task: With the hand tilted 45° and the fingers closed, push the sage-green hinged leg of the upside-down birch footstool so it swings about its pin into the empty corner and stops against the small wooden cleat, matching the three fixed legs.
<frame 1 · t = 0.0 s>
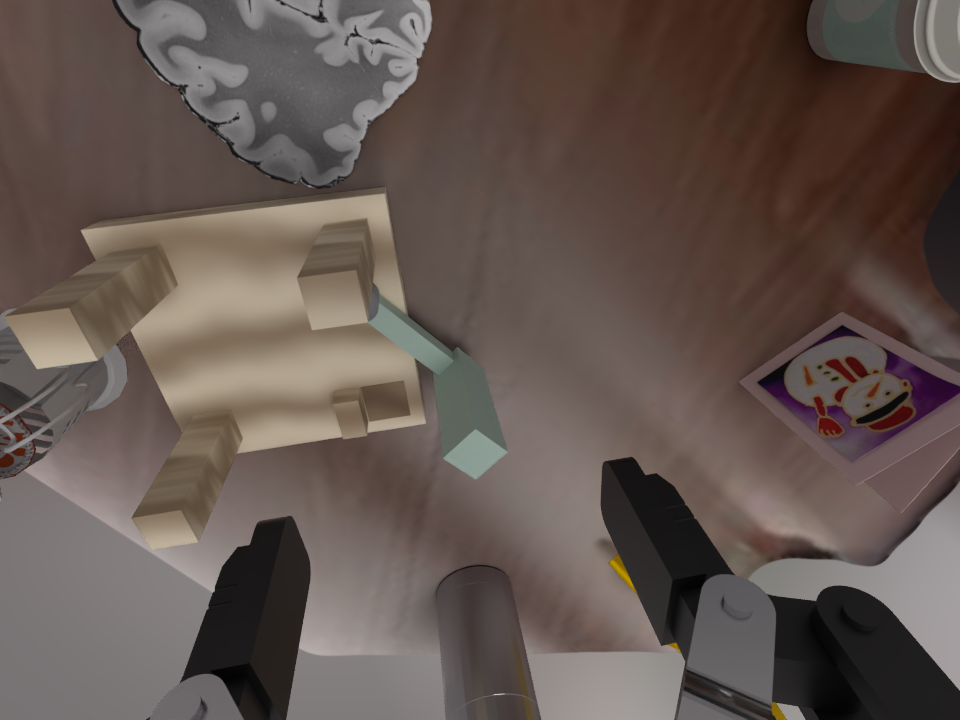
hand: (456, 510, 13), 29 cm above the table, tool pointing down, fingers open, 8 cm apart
hinged leg: (415, 369, 35), point 8 cm above the table, hinge at 40.0°
coffee cup: (842, 12, 35), on the table
greeting card: (796, 364, 51), on the table
brain slice: (288, 6, 31), on the table
french press: (69, 356, 39), on the table
figure statuette: (652, 554, 63), on the table
stool seat: (285, 327, 41), on the table
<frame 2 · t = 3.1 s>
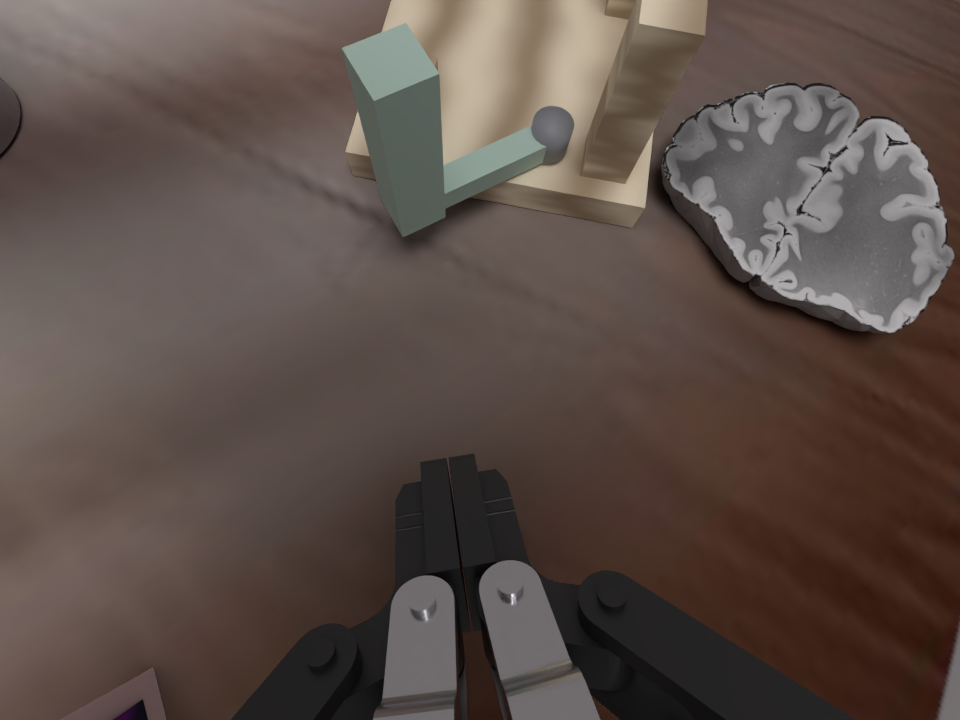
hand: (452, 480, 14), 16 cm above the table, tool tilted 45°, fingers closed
hinged leg: (485, 114, 27), point 8 cm above the table, hinge at 40.0°
brain slice: (785, 212, 36), on the table
stool seat: (515, 88, 38), on the table
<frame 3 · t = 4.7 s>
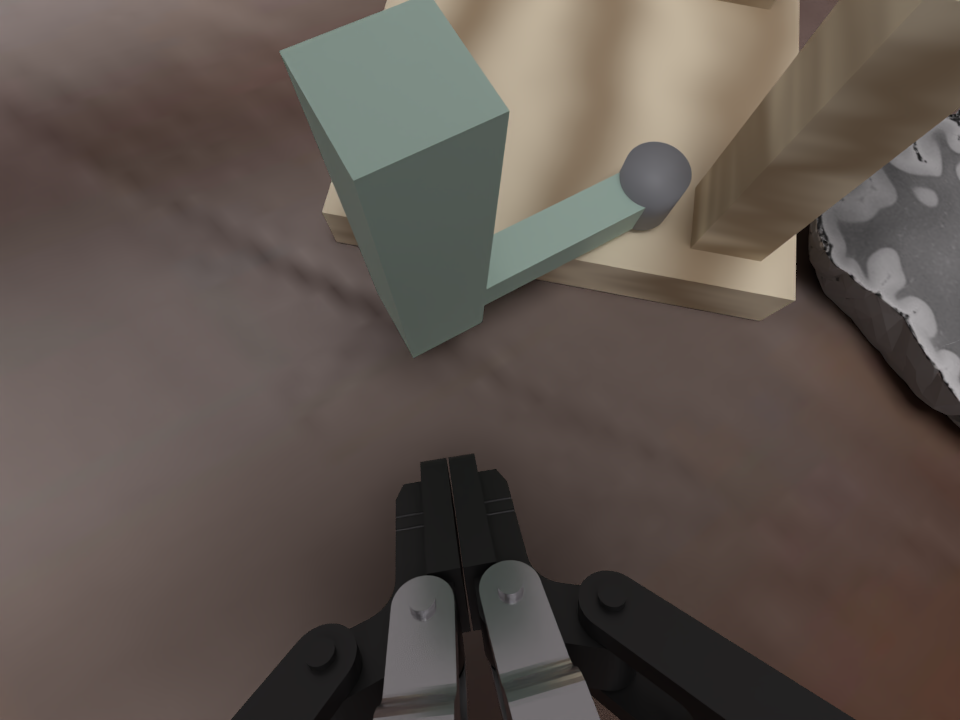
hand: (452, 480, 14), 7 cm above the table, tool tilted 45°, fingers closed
hinged leg: (563, 168, 15), point 8 cm above the table, hinge at 40.0°
stool seat: (575, 106, 26), on the table
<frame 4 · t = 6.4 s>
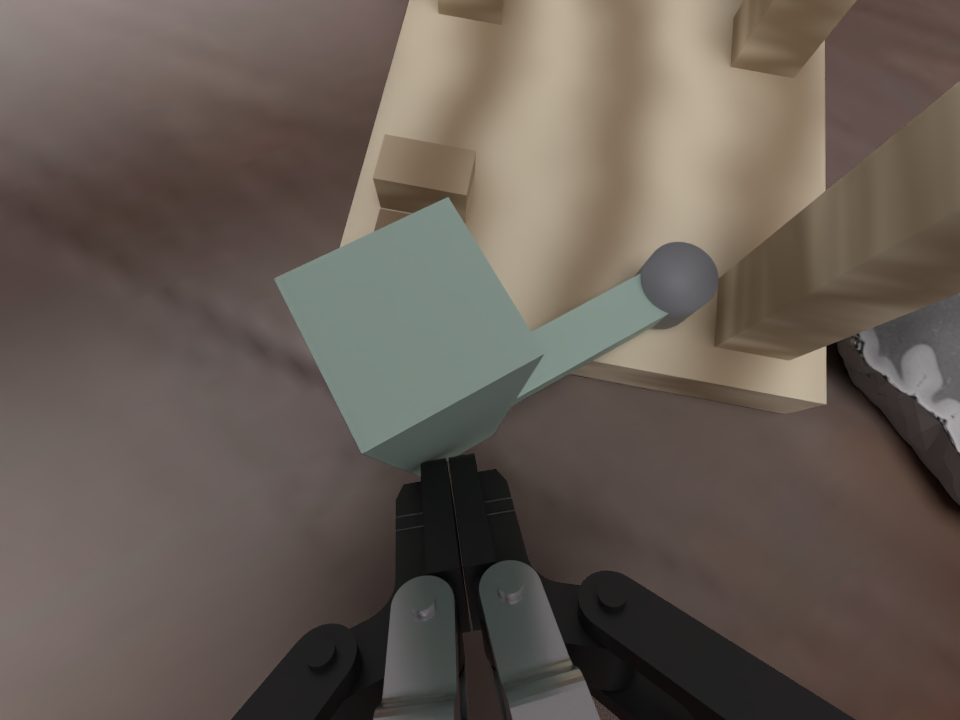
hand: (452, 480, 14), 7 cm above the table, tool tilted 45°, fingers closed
hinged leg: (587, 304, 14), point 8 cm above the table, hinge at 39.7°, touching gripper
stool seat: (588, 177, 24), on the table
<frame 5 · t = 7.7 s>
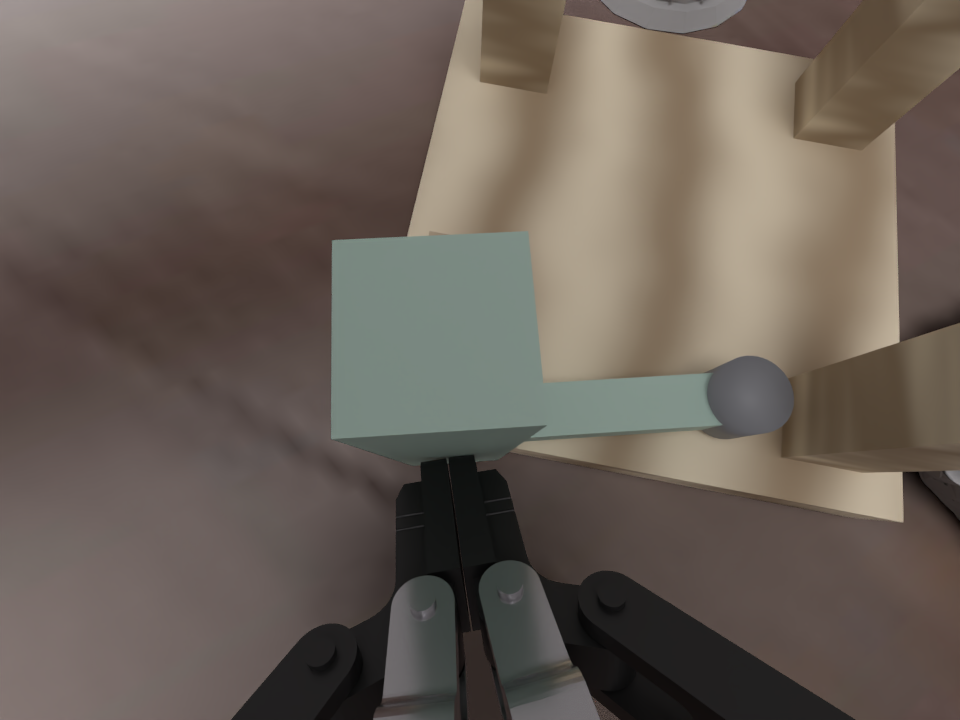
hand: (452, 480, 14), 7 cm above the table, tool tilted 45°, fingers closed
hinged leg: (637, 383, 13), point 8 cm above the table, hinge at 14.4°, touching gripper
stool seat: (636, 253, 23), on the table
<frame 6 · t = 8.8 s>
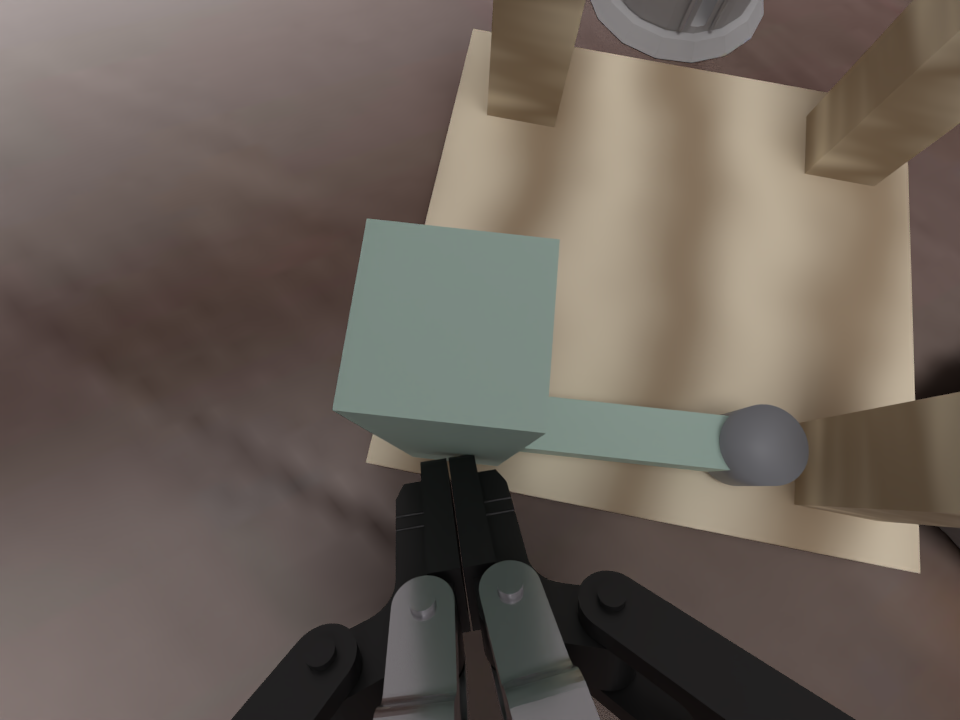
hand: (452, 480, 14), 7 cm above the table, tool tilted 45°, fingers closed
hinged leg: (648, 411, 13), point 8 cm above the table, hinge at 5.0°, touching gripper
french press: (677, 5, 27), on the table
stool seat: (645, 288, 23), on the table
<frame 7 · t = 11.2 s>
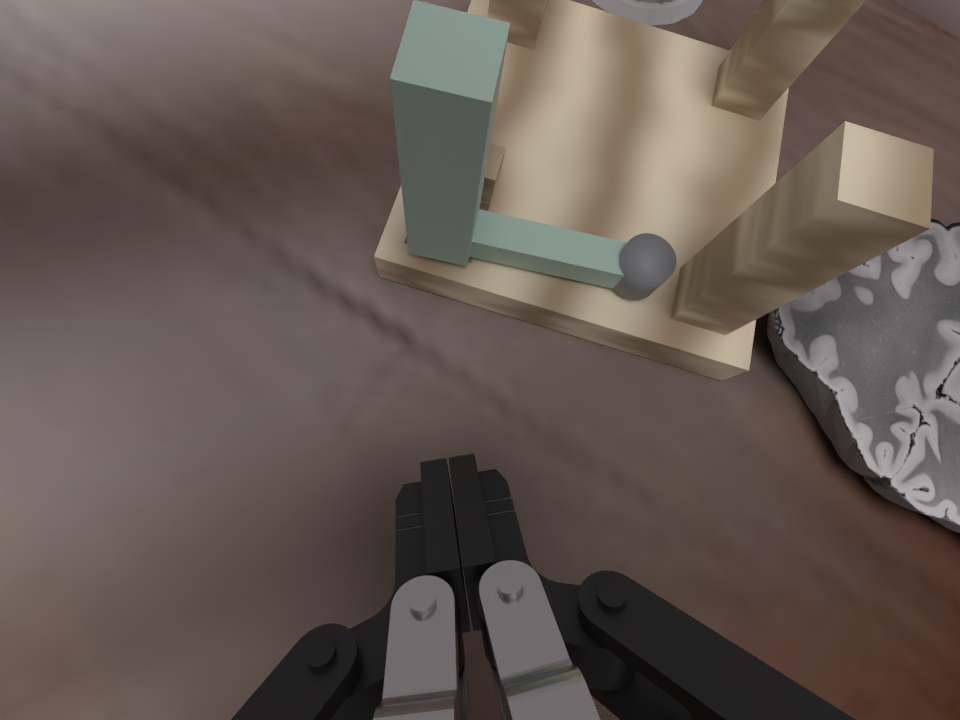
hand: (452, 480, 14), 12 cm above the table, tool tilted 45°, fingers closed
hinged leg: (564, 193, 20), point 8 cm above the table, hinge at 4.8°
brain slice: (905, 374, 30), on the table
stool seat: (590, 180, 30), on the table
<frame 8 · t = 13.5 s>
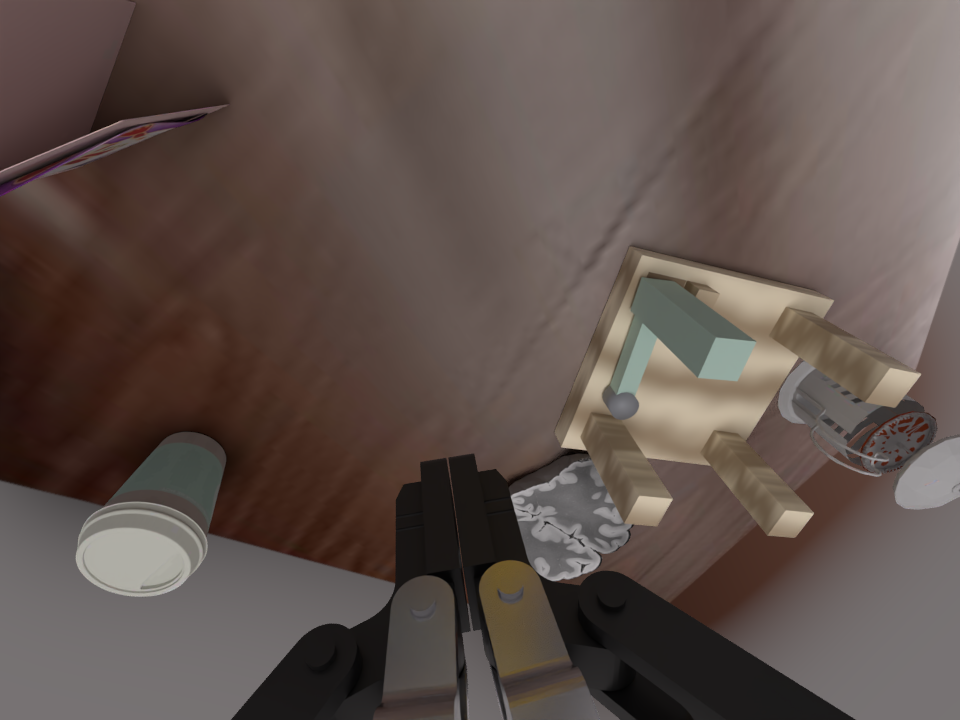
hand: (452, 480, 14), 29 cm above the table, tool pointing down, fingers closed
hinged leg: (661, 379, 39), point 8 cm above the table, hinge at 4.8°
coffee cup: (193, 454, 47), on the table
greeting card: (125, 91, 32), on the table
brain slice: (553, 509, 58), on the table
french press: (812, 387, 54), on the table
stool seat: (679, 364, 49), on the table
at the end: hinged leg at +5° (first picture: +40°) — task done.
